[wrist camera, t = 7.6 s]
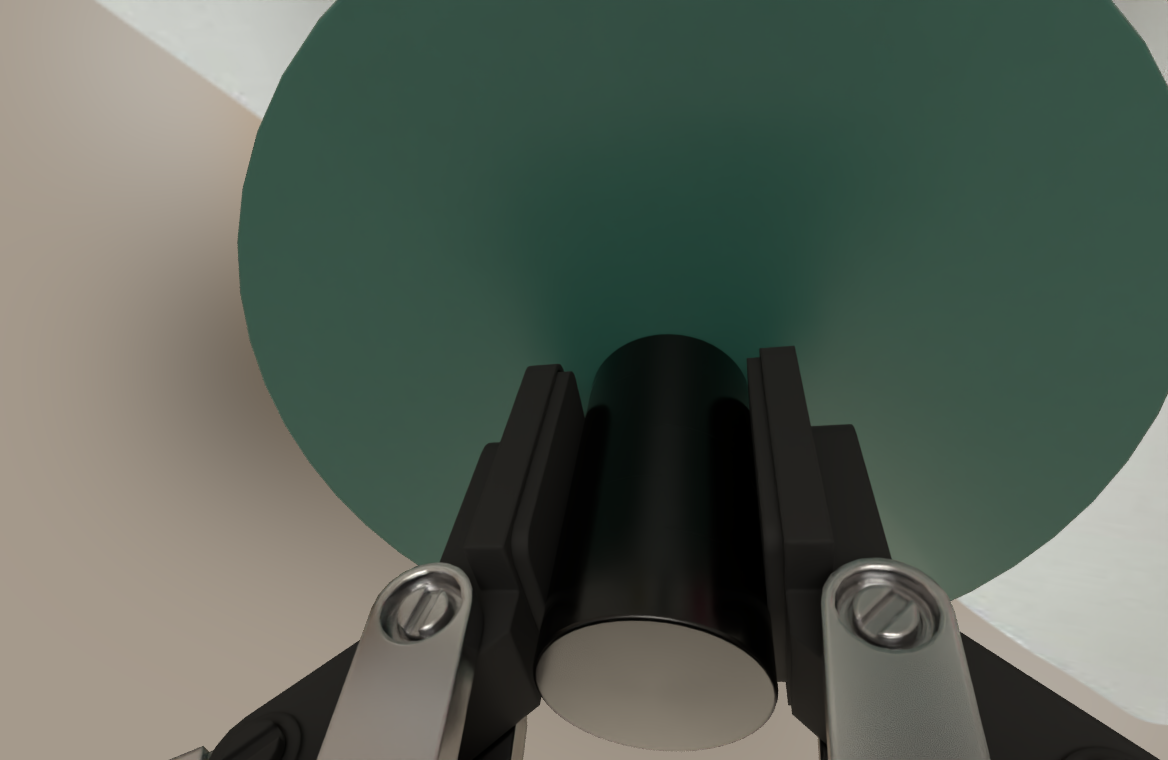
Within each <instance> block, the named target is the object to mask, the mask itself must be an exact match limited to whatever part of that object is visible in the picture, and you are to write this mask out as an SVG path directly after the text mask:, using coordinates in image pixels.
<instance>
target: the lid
mask: <svg viewBox="0 0 1168 760" xmlns="http://www.w3.org/2000/svg"><path fill="white" fill-rule="evenodd" d="M238 261H239V279H240V294H241V299H242V304H243V309H244V314H245V319H246V324H247V329H248V334H249V339H250V343H251V346H252V348H253V351H254V354H255V357H256V360H257V363H258V366H259V369H260V372H261V374H262V377H263V380H264V383H265V385H266V388H267V390H268V392H269V394H270V396H271V398H272V399H273V402H274V404H275V406H276V408H277V410H278V412H279V414H280V416H281V418H282V420H283V422H284V424H285V426H286V427H287V429H288V430H289V432H290V434H291V435H292V437H293V438H294V440H295V441H296V443H297V444H298V446H299V447H300V449H301V450H302V452H303V454H304V455H305V457H306V458H307V460H308V461H309V463H310V464H311V465H312V466H313V468H314V469H315V470H316V471H317V473H318V474H319V475H320V476H321V477H322V479H323V480H324V481H325V482H326V484H327V485H328V486H329V487H330V489H331V490H332V491H333V492H334V493H335V495H336V496H337V497H338V498H339V499H340V500H341V501H342V502H343V503H344V504H345V505H346V506H347V507H348V508H349V509H350V510H351V511H352V512H353V513H354V514H355V515H356V516H357V517H358V518H359V519H360V520H361V521H362V522H363V523H364V524H365V525H366V526H368V527H369V528H370V529H371V530H372V531H374V532H375V533H376V534H377V535H379V536H380V537H381V538H383V540H385V541H386V542H387V543H388V544H389V545H391V546H392V547H393V548H394V549H396V550H397V551H398V552H399V553H401V554H402V555H404V556H405V557H407V558H408V559H410V560H411V561H413V562H414V563H416V564H417V565H418V566H419V565H423V564H428V563H433V562H435V563H439V562H440V560H441V557H442V554H443V552H444V549H445V547H446V544H447V541H448V539H449V536H450V533H451V531H452V528H453V526H454V523H455V520H456V518H457V515H458V512H459V510H460V507H461V505H462V502H463V499H464V497H465V494H466V491H467V489H468V486H469V484H470V481H471V478H472V476H473V473H474V470H475V468H476V465H477V463H478V460H479V457H480V455H481V452H482V450H483V448H484V447H485V445H487V444H488V443H493V442H500V441H501V438H502V435H503V432H504V430H505V427H506V424H507V421H508V418H509V416H510V413H511V410H512V407H513V404H514V401H515V399H516V396H517V393H518V390H519V387H520V385H521V382H522V379H523V376H524V373H525V370H526V369H527V367H528V366H535V365H548V364H561V365H562V367H563V370H564V372H566V371H572V372H573V373H574V375H575V378H576V382H577V386H578V390H579V395H580V399H581V403H582V407H583V412H584V416H585V421H584V426H583V431H582V435H581V440H580V445H579V450H578V454H577V459H576V464H575V468H574V473H573V478H572V482H571V487H570V492H569V497H568V501H567V506H566V511H565V515H564V520H563V525H562V529H561V534H560V539H559V544H558V548H557V553H556V558H555V562H554V567H553V572H552V576H551V581H550V586H549V591H548V595H547V600H546V605H545V609H544V614H543V619H542V624H541V628H540V633H539V638H538V642H537V647H536V652H535V656H534V662H533V678H534V681H535V685H536V688H537V690H538V692H539V694H540V695H541V697H542V698H543V700H544V701H545V702H546V703H547V705H548V706H549V707H550V708H551V709H552V710H553V711H554V712H555V713H557V714H558V715H559V716H560V717H562V718H563V719H564V720H566V721H568V722H569V723H571V724H572V725H574V726H576V727H578V728H580V729H582V730H583V731H585V732H587V733H590V734H592V735H594V736H597V737H599V738H603V739H605V740H608V741H611V742H615V743H618V744H622V745H626V746H631V747H636V748H642V749H649V750H659V751H695V750H703V749H710V748H715V747H720V746H723V745H726V744H730V743H733V742H736V741H738V740H741V739H743V738H745V737H747V736H749V735H750V734H752V733H754V732H755V731H757V730H758V729H759V728H761V727H762V726H763V725H764V724H765V723H766V722H767V720H768V719H769V718H770V716H771V715H772V713H773V711H774V709H775V706H776V703H777V700H778V684H777V673H776V663H775V652H774V642H773V632H772V622H771V616H770V612H769V610H768V607H767V597H766V586H765V575H764V564H763V553H762V542H761V531H760V520H759V509H758V499H757V488H756V477H755V466H754V455H753V444H752V433H751V422H750V411H749V394H748V377H747V358H755V357H759V348H769V347H782V346H795V349H796V354H797V359H798V364H799V369H800V374H801V379H802V384H803V389H804V394H805V399H806V404H807V409H808V414H809V418H810V423H811V426H822V425H842V424H852V425H853V426H854V428H855V431H856V433H857V437H858V440H859V444H860V447H861V451H862V455H863V458H864V462H865V465H866V469H867V472H868V476H869V479H870V483H871V487H872V490H873V494H874V497H875V501H876V504H877V508H878V511H879V515H880V519H881V522H882V526H883V529H884V533H885V536H886V540H887V543H888V547H889V551H890V554H891V558H892V560H897V561H901V562H903V563H906V564H908V565H911V566H913V567H916V568H918V569H919V570H921V571H922V572H924V573H925V574H927V575H928V576H930V577H931V578H933V579H934V580H935V581H936V582H937V583H938V584H939V586H940V587H941V588H942V589H943V590H944V591H945V592H946V594H947V595H948V597H949V599H950V601H952V600H954V599H956V598H958V597H961V596H963V595H965V594H967V593H969V592H971V591H973V590H975V589H976V588H978V587H980V586H982V585H983V584H985V583H987V582H988V581H990V580H992V579H994V578H995V577H997V576H999V575H1000V574H1002V573H1004V572H1006V571H1007V570H1009V569H1011V568H1012V567H1014V566H1015V565H1017V564H1018V563H1019V562H1021V561H1022V560H1024V559H1025V558H1026V557H1028V556H1029V555H1030V554H1032V553H1033V552H1035V551H1036V550H1037V549H1039V548H1040V547H1041V546H1043V545H1044V544H1045V543H1047V542H1048V541H1050V540H1051V539H1052V538H1054V537H1055V536H1056V535H1057V534H1058V533H1059V532H1060V531H1061V530H1063V529H1064V528H1065V527H1066V526H1067V525H1068V524H1069V523H1070V522H1071V521H1072V520H1074V519H1075V518H1076V517H1077V516H1078V515H1079V514H1080V513H1081V512H1082V511H1083V510H1084V509H1086V508H1087V507H1088V506H1089V505H1090V504H1091V503H1092V502H1093V501H1094V500H1095V499H1096V498H1097V496H1098V495H1099V494H1100V493H1101V492H1102V491H1103V489H1104V488H1105V487H1106V486H1107V485H1108V484H1109V482H1110V481H1111V480H1112V479H1113V478H1114V477H1115V475H1116V474H1117V473H1118V472H1119V471H1120V470H1121V468H1122V467H1123V466H1124V465H1125V464H1126V463H1127V461H1128V460H1129V458H1130V457H1131V455H1132V454H1133V452H1134V451H1135V449H1136V448H1137V446H1138V445H1139V443H1140V442H1141V440H1142V439H1143V437H1144V435H1145V434H1146V432H1147V431H1148V429H1149V428H1150V426H1151V425H1152V423H1153V422H1154V420H1155V419H1156V417H1157V415H1158V414H1159V412H1160V409H1161V407H1162V405H1163V403H1164V401H1165V398H1166V396H1167V394H1168V85H1167V83H1166V81H1165V80H1164V78H1163V76H1162V74H1161V72H1160V70H1159V68H1158V66H1157V64H1156V62H1155V60H1154V58H1153V56H1152V55H1151V53H1150V51H1149V49H1148V47H1147V45H1146V43H1145V41H1144V40H1143V39H1142V37H1141V36H1140V35H1139V34H1138V32H1137V31H1136V30H1135V29H1134V27H1133V26H1132V25H1131V24H1130V22H1129V21H1128V20H1127V19H1126V17H1125V16H1124V15H1123V14H1122V12H1121V11H1120V10H1119V9H1118V8H1117V6H1116V5H1115V4H1114V3H1113V1H1112V0H336V1H335V3H334V4H333V5H332V6H331V7H330V8H329V9H328V10H327V11H326V12H325V13H324V14H323V15H322V17H321V18H320V19H319V20H318V22H317V23H316V25H315V26H314V28H313V29H312V31H311V32H310V34H309V35H308V37H307V38H306V40H305V41H304V43H303V44H302V46H301V47H300V49H299V50H298V52H297V53H296V55H295V57H294V58H293V60H292V61H291V63H290V64H289V66H288V67H287V69H286V70H285V72H284V73H283V75H282V77H281V79H280V82H279V84H278V86H277V88H276V91H275V93H274V95H273V97H272V100H271V102H270V104H269V106H268V109H267V111H266V113H265V115H264V118H263V120H262V122H261V125H260V127H259V129H258V132H257V135H256V139H255V143H254V147H253V151H252V154H251V158H250V162H249V166H248V170H247V174H246V178H245V182H244V185H243V191H242V202H241V212H240V222H239V232H238Z"/></svg>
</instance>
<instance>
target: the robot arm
mask: <svg viewBox="0 0 1168 760" xmlns="http://www.w3.org/2000/svg"><path fill="white" fill-rule="evenodd" d="M747 377H748V394H749V411H750V422H751V433H752V444H753V455H754V466H755V477H756V488H757V499H758V509H759V520H760V531H761V542H762V553H763V564H764V575H765V586H766V597H767V607H768V610H769V612H770V616H771V622H772V632H773V642H774V652H775V663H776V673H777V682H786V689H787V698H788V705H791V708H792V714H793V715H794V716H795V717H796V718H797V719H798V720H799V721H801V722H802V723H803V724H804V725H805V726H806V727H807V728H808V729H810V730H811V731H812V732H813V733H814V734H815V735H816V736H817V737H818V751H819V760H1159V759H1158V758H1156V757H1155V756H1153V755H1152V754H1150V753H1149V752H1147V751H1145V750H1144V749H1142V748H1141V747H1139V746H1138V745H1136V744H1134V743H1133V742H1131V741H1130V740H1128V739H1127V738H1125V737H1123V736H1122V735H1120V734H1119V733H1117V732H1116V731H1114V730H1113V729H1111V728H1109V727H1108V726H1106V725H1105V724H1103V723H1102V722H1100V721H1099V720H1097V719H1096V718H1094V717H1092V716H1091V715H1089V714H1088V713H1086V712H1085V711H1083V710H1081V709H1080V708H1078V707H1077V706H1075V705H1074V704H1072V703H1070V702H1069V701H1067V700H1066V699H1064V698H1063V697H1061V696H1059V695H1058V694H1056V693H1055V692H1053V691H1052V690H1050V689H1049V688H1047V687H1046V686H1044V685H1042V684H1041V683H1039V682H1038V681H1036V680H1034V679H1033V678H1032V677H1030V676H1028V675H1026V674H1025V673H1024V672H1022V671H1021V670H1019V669H1017V668H1016V667H1014V666H1013V665H1011V664H1010V663H1008V662H1007V661H1005V660H1003V659H1002V658H1000V657H999V656H997V655H996V654H994V653H993V652H991V651H989V650H988V649H986V648H985V647H983V646H982V645H980V644H978V643H977V642H975V641H974V640H972V639H970V638H969V637H968V636H966V635H964V634H963V633H961V632H960V631H959V627H958V623H957V619H956V615H955V611H954V609H953V606H952V604H951V602H950V599H949V597H948V595H947V594H946V592H945V591H944V590H943V589H942V588H941V587H940V586H939V584H938V583H937V582H936V581H935V580H934V579H933V578H931V577H930V576H928V575H927V574H925V573H924V572H922V571H921V570H919V569H918V568H916V567H913V566H911V565H908V564H906V563H903V562H901V561H897V560H892V558H891V554H890V551H889V547H888V543H887V540H886V536H885V533H884V529H883V526H882V522H881V519H880V515H879V511H878V508H877V504H876V501H875V497H874V494H873V490H872V487H871V483H870V479H869V476H868V472H867V469H866V465H865V462H864V458H863V455H862V451H861V447H860V444H859V440H858V437H857V433H856V431H855V428H854V426H853V425H852V424H842V425H822V426H811V423H810V418H809V414H808V409H807V404H806V399H805V394H804V389H803V384H802V379H801V374H800V369H799V364H798V359H797V354H796V349H795V346H782V347H769V348H759V357H755V358H747ZM584 421H585V416H584V412H583V407H582V403H581V399H580V395H579V390H578V386H577V382H576V378H575V375H574V373H573V372H572V371H566V372H564V370H563V367H562V365H561V364H548V365H535V366H528V367H527V369H526V370H525V373H524V376H523V379H522V382H521V385H520V387H519V390H518V393H517V396H516V399H515V401H514V404H513V407H512V410H511V413H510V416H509V418H508V421H507V424H506V427H505V430H504V432H503V435H502V438H501V441H500V442H493V443H488V444H487V445H485V447H484V448H483V450H482V452H481V455H480V457H479V460H478V463H477V465H476V468H475V470H474V473H473V476H472V478H471V481H470V484H469V486H468V489H467V491H466V494H465V497H464V499H463V502H462V505H461V507H460V510H459V512H458V515H457V518H456V520H455V523H454V526H453V528H452V531H451V533H450V536H449V539H448V541H447V544H446V547H445V549H444V552H443V554H442V557H441V560H440V562H439V563H435V562H433V563H428V564H423V565H419V566H416V567H414V568H412V569H410V570H407V571H405V572H403V573H402V574H400V575H399V576H398V577H396V578H395V579H393V580H392V581H391V582H389V584H388V585H387V586H386V587H385V588H384V589H383V590H382V591H381V593H380V594H379V595H378V597H377V599H376V601H375V603H374V604H373V606H372V608H371V611H370V614H369V616H368V619H367V622H366V625H365V628H364V630H363V633H362V636H361V639H360V640H359V641H358V642H356V643H355V644H353V645H352V646H350V647H349V648H347V649H346V650H344V651H343V652H341V653H340V654H338V655H337V656H335V657H334V658H332V659H331V660H330V661H328V662H327V663H325V664H324V665H322V666H321V667H319V668H318V669H316V670H315V671H313V672H312V673H310V674H309V675H307V676H306V677H304V678H303V679H301V680H300V681H298V682H297V683H296V684H294V685H293V686H291V687H290V688H288V689H287V690H285V691H284V692H282V693H281V694H279V695H278V696H276V697H275V698H273V699H272V700H270V701H269V702H267V703H266V704H264V705H263V706H261V707H260V708H258V709H257V710H255V711H254V712H253V713H251V714H250V715H248V716H247V717H245V718H244V719H243V720H242V721H240V722H239V723H238V724H237V725H235V726H234V727H233V728H232V729H231V730H229V732H228V733H227V734H226V735H225V736H224V738H223V739H222V740H221V741H220V743H219V744H218V745H217V746H216V747H215V749H214V750H213V751H211V752H209V751H208V750H207V749H206V748H205V747H204V746H202V747H199V748H197V749H194V750H192V751H190V752H187V753H185V754H182V755H180V756H178V757H175V758H173V759H170V760H523V755H524V747H525V739H526V731H527V715H528V714H529V713H530V712H532V711H533V710H534V709H535V708H536V707H538V706H539V705H540V701H541V695H540V694H539V692H538V690H537V688H536V685H535V681H534V678H533V662H534V656H535V652H536V647H537V642H538V638H539V633H540V628H541V624H542V619H543V614H544V609H545V605H546V600H547V595H548V591H549V586H550V581H551V576H552V572H553V567H554V562H555V558H556V553H557V548H558V544H559V539H560V534H561V529H562V525H563V520H564V515H565V511H566V506H567V501H568V497H569V492H570V487H571V482H572V478H573V473H574V468H575V464H576V459H577V454H578V450H579V445H580V440H581V435H582V431H583V426H584Z"/></svg>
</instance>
